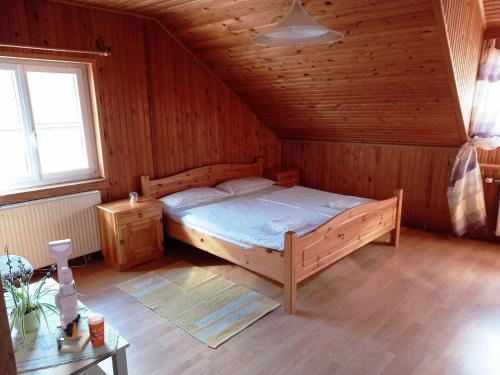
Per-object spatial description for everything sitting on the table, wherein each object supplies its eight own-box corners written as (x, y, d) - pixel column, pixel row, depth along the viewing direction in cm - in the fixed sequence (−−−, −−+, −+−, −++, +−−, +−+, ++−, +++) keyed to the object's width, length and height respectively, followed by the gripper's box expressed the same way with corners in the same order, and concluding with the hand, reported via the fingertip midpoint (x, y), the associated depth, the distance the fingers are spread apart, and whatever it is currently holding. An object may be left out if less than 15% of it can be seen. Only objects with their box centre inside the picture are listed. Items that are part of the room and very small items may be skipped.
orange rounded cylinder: (69, 333, 172) (67, 321, 171) (78, 333, 172) (77, 321, 171) (65, 339, 168) (63, 327, 167) (75, 339, 168) (73, 327, 167)
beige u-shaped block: (73, 334, 177) (72, 331, 177) (91, 335, 178) (91, 332, 177) (61, 351, 166) (60, 348, 165) (80, 351, 166) (80, 348, 166)
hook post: (58, 347, 169) (57, 337, 167) (65, 347, 169) (64, 337, 167) (56, 349, 167) (55, 340, 166) (63, 349, 167) (62, 340, 166)
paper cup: (93, 351, 167) (90, 324, 163) (86, 343, 172) (83, 316, 168) (109, 343, 172) (107, 317, 169) (102, 335, 177) (100, 310, 174)
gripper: (67, 298, 174) (70, 324, 177) (52, 316, 160) (55, 343, 163) (82, 298, 174) (85, 324, 177) (69, 316, 160) (71, 343, 163)
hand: (72, 333), depth 170 cm, fingers closed on orange rounded cylinder, 4 cm apart
